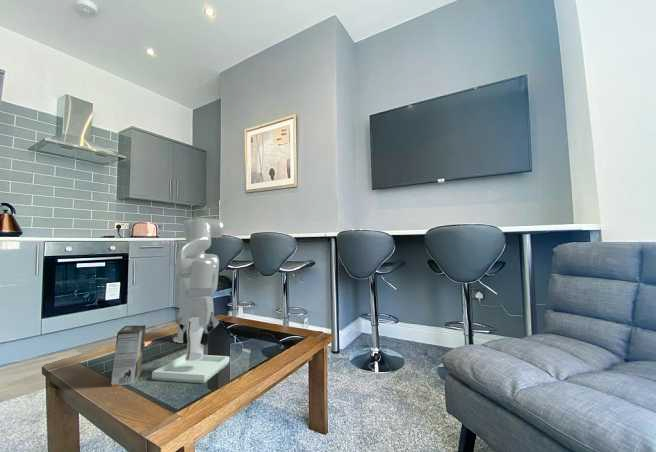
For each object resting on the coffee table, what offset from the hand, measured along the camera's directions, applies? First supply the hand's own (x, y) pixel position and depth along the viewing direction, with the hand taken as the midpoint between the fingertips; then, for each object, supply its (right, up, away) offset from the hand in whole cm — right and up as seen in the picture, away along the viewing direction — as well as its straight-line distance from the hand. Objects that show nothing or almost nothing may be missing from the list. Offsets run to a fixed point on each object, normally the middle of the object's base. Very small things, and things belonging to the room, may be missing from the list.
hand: (195, 343), depth 99 cm
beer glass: (0, -5, -1) cm, 5 cm away
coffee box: (-18, -8, -10) cm, 22 cm away
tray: (0, -9, -1) cm, 9 cm away
